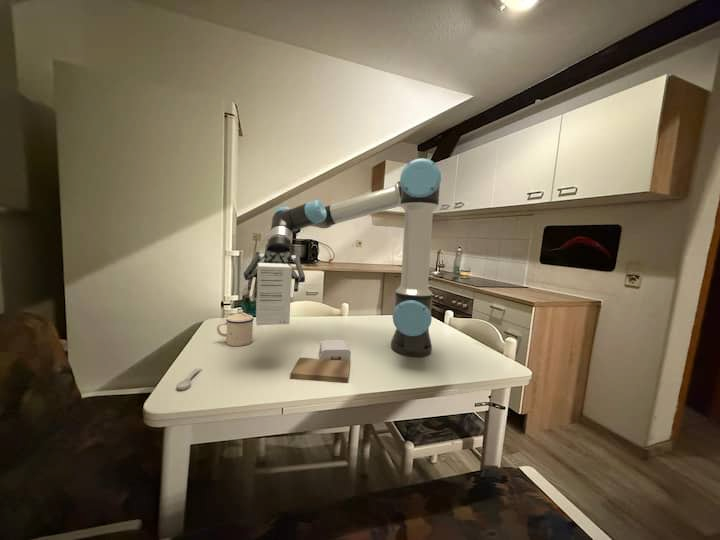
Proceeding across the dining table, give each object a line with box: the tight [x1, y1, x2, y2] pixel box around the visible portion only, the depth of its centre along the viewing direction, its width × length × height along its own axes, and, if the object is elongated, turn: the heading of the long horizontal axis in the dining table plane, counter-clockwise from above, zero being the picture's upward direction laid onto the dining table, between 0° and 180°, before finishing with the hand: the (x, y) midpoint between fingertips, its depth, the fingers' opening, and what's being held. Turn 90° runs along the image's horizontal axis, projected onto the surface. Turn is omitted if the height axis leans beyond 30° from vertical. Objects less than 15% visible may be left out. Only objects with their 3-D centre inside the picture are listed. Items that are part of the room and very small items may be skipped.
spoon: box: [176, 368, 203, 391], centre depth 76 cm, size 3×12×2 cm, turn 10°
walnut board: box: [289, 357, 351, 384], centre depth 86 cm, size 16×11×2 cm
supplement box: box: [255, 262, 293, 326], centre depth 86 cm, size 10×9×17 cm
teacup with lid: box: [216, 309, 254, 347], centre depth 103 cm, size 12×9×12 cm
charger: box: [318, 339, 352, 362], centre depth 99 cm, size 5×9×15 cm
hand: (271, 299), depth 83 cm, fingers closed on supplement box, 10 cm apart
